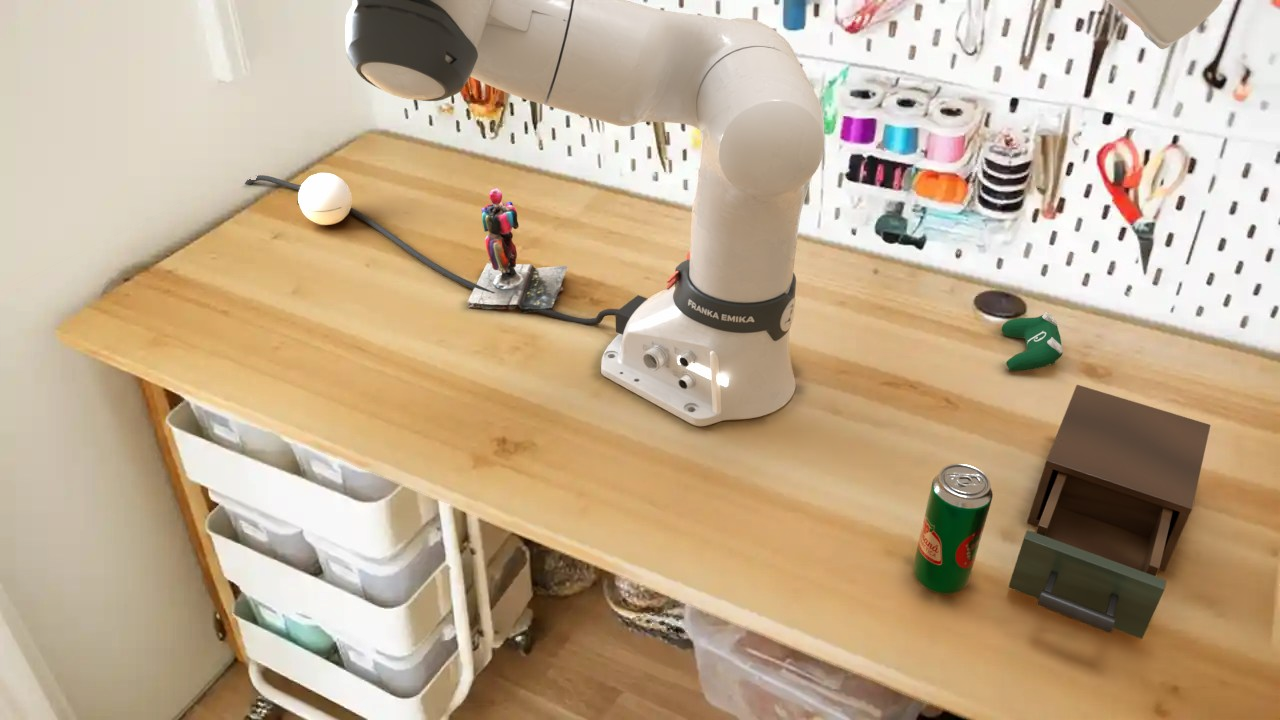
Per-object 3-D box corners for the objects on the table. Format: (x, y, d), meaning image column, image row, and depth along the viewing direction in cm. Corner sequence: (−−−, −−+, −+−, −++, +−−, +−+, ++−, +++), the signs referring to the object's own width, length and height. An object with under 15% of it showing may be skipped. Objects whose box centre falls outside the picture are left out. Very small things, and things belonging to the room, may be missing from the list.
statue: (470, 315, 133) (443, 210, 124) (490, 276, 140) (466, 174, 131) (553, 315, 130) (532, 208, 122) (569, 275, 138) (550, 171, 129)
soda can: (904, 558, 98) (926, 461, 91) (957, 555, 98) (983, 458, 91) (921, 599, 94) (945, 502, 87) (975, 596, 94) (1004, 498, 87)
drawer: (1134, 673, 87) (1156, 622, 83) (996, 617, 91) (1012, 567, 88) (1164, 547, 98) (1185, 498, 95) (1040, 504, 103) (1056, 455, 99)
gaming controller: (1022, 388, 122) (1069, 364, 119) (1004, 366, 121) (1051, 341, 118) (1015, 344, 130) (1060, 320, 127) (998, 323, 129) (1042, 298, 125)
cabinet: (1164, 572, 97) (1192, 509, 92) (1026, 522, 102) (1046, 460, 97) (1184, 486, 106) (1210, 424, 102) (1057, 444, 112) (1076, 384, 107)
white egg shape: (323, 206, 153) (314, 160, 149) (366, 215, 151) (358, 169, 147) (279, 237, 146) (269, 189, 142) (324, 247, 144) (315, 199, 139)
